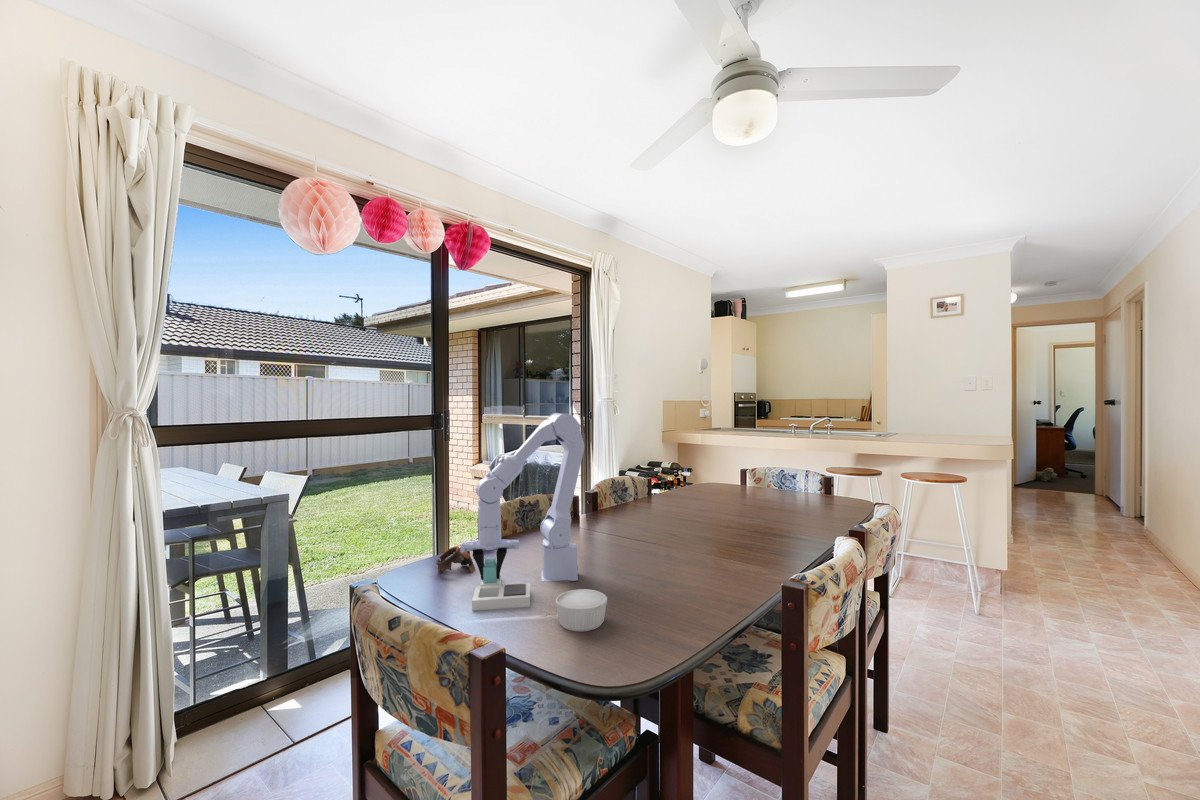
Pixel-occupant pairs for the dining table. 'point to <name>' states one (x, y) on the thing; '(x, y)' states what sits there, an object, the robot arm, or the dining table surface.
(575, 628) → the ramekin
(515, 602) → the panel
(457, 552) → the brown jagged curved sculpture
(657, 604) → the dining table surface
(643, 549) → the dining table surface
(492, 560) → the plug
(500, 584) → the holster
